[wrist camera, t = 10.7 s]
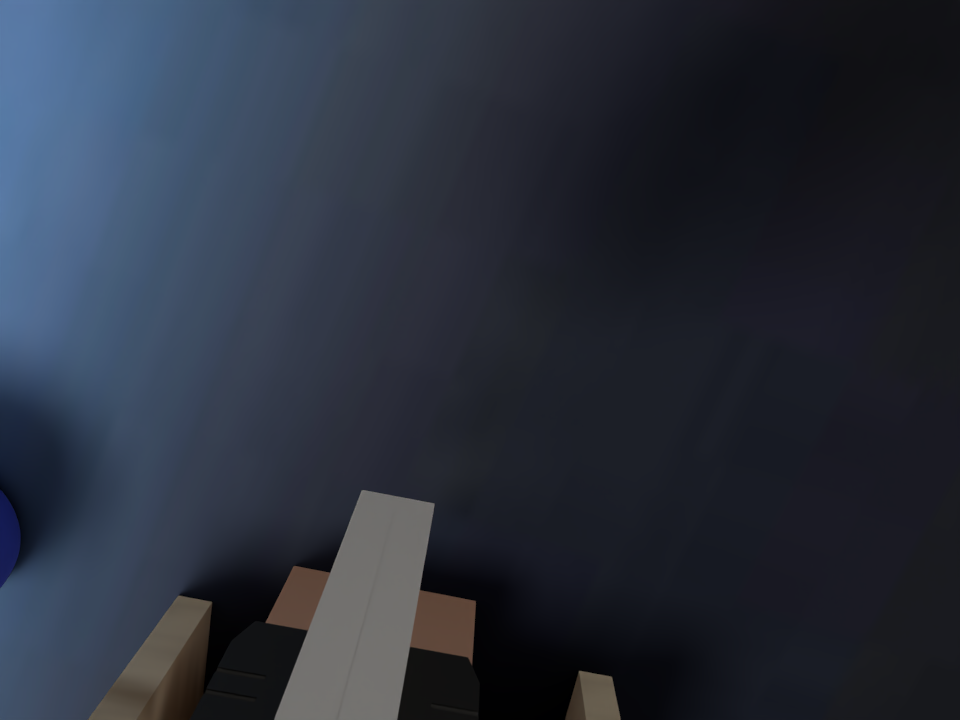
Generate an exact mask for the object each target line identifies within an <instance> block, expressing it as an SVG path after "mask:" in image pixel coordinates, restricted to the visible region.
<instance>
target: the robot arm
mask: <svg viewBox="0 0 960 720" xmlns="http://www.w3.org/2000/svg"><path fill="white" fill-rule="evenodd" d="M433 510H434V503H429V502H423V501H418V500H413V499H407V498H402V497H397V496H391V495H386V494H381V493H376V492H370V491H365V490H362V491H361V494H360V496H359V499H358V502H357V504H356V507H355V510H354V512H353V515H352V517H351V520H350V523H349V525H348V528H347V530H346V533H345V536H344V538H343V541H342V543H341V546H340V549H339V551H338V554H337V557H336V559H335V562H334V564H333V567H332V570H331V572H330V575H329V577H328V580H327V583H326V585H325V588H324V591H323V593H322V596H321V598H320V601H319V604H318V606H317V609H316V611H315V614H314V617H313V619H312V622H311V624H310V627H309V630H303V629H297V628H292V627H286V626H281V625H275V624H270V623H264V622H259V621H255V622H254V623H252V624H251V625H250V626H249V627H248V628H246V629H245V630H244V631H243V632H241V633H240V634H239V635H238V636H237V637H235V638H234V639H233V640H232V641H231V642H230V644H229V646H228V648H227V650H226V652H225V654H224V656H223V658H222V659H221V661H220V663H219V665H218V668H217V671H216V672H215V673H214V675H213V677H212V678H211V680H210V682H209V684H208V686H207V688H206V692H205V694H203V696H202V697H201V699H200V701H199V703H198V705H197V707H196V709H195V711H194V713H193V715H192V716H191V718H190V720H478V719H479V716H478V712H479V691H480V683H479V680H478V678H477V676H476V674H475V671H474V669H473V667H472V665H471V662H470V660H469V658H468V657H464V656H458V655H453V654H447V653H442V652H436V651H431V650H425V649H420V648H414V647H410V643H411V637H412V631H413V625H414V620H415V614H416V608H417V602H418V597H419V591H420V585H421V579H422V574H423V568H424V562H425V556H426V551H427V545H428V539H429V533H430V527H431V522H432V516H433Z"/></svg>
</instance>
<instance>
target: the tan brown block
mask: <svg viewBox="0 0 960 720" xmlns="http://www.w3.org/2000/svg"><path fill="white" fill-rule="evenodd" d="M329 575H330V573H329V572H324V571H318V570H313V569H308V568H303V567H298V566H294V567H293V569H292V571H291V573H290V575H289V577H288V579H287V581H286V583H285V585H284V587H283V589H282V591H281V593H280V595H279V597H278V599H277V601H276V603H275V605H274V607H273V609H272V611H271V613H270V615H269V617H268V619H267V621H266V622H265V623H270V624H275V625H281V626H286V627H292V628H297V629H303V630H309V627H310V624H311V622H312V619H313V617H314V614H315V611H316V609H317V606H318V604H319V601H320V598H321V596H322V593H323V591H324V588H325V585H326V583H327V580H328V577H329ZM475 610H476V601H473V600H468V599H463V598H458V597H452V596H447V595H442V594H437V593H432V592H427V591H422V590H420V591H419V597H418V602H417V608H416V614H415V620H414V625H413V631H412V637H411V643H410V647H414V648H420V649H425V650H431V651H436V652H442V653H447V654H453V655H458V656H464V657H468V658H469V660H470V662H471V665H472V658H473V642H474V626H475Z"/></svg>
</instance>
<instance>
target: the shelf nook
mask: <svg viewBox="0 0 960 720" xmlns="http://www.w3.org/2000/svg"><path fill="white" fill-rule="evenodd" d="M211 609H212V602H210V601H205V600H200V599H194V598H189V597H184V596H178V597H177V598H176V599H175V601H174V602H173V604H172V605H171V606H170V608H169V609H168V610H167V612H166V613H165V615H164V616H163V617H162V619H161V620H160V621H159V623H158V624H157V626H156V627H155V628H154V630H153V631H152V632H151V634H150V635H149V636H148V638H147V639H146V641H145V642H144V643H143V645H142V646H141V647H140V649H139V650H138V652H137V653H136V654H135V656H134V657H133V658H132V660H131V661H130V663H129V664H128V665H127V667H126V668H125V669H124V671H123V672H122V673H121V675H120V676H119V678H118V679H117V680H116V682H115V683H114V684H113V686H112V687H111V689H110V690H109V691H108V693H107V694H106V695H105V697H104V698H103V700H102V701H101V702H100V704H99V705H98V706H97V708H96V709H95V710H94V712H93V713H92V715H91V716H90V717H89V719H88V720H190V718H191V716H192V715H193V713H194V711H195V709H196V707H197V705H198V703H199V701H200V699H201V697H202V696H203V692H204V681H205V671H206V661H207V651H208V640H209V630H210V620H211ZM565 720H621V719H620V714H619V709H618V704H617V699H616V694H615V689H614V684H613V680H612V677H610V676H605V675H600V674H594V673H589V672H584V671H579V673H578V676H577V680H576V683H575V686H574V690H573V693H572V697H571V700H570V704H569V707H568V711H567V714H566V717H565Z"/></svg>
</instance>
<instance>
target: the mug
mask: <svg viewBox="0 0 960 720" xmlns="http://www.w3.org/2000/svg"><path fill="white" fill-rule="evenodd" d="M20 540H21V534H20V527H19V522H18V519H17V516H16V514H15V511H14V509H13V507H12V505H11V504H10V502H9V500H8V498H7V497H6V496H5V494H4V493H3V492H2V491H1V490H0V588H1V586H2V585H3V584H4V582H5V581H6V579H7V578H8V577H9V575H10V573H11V572H12V570H13V568H14V566H15V563H16V561H17V558H18V555H19V551H20Z"/></svg>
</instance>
